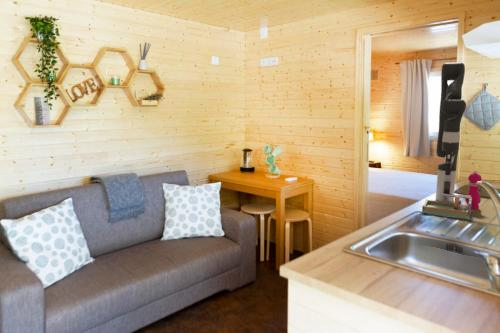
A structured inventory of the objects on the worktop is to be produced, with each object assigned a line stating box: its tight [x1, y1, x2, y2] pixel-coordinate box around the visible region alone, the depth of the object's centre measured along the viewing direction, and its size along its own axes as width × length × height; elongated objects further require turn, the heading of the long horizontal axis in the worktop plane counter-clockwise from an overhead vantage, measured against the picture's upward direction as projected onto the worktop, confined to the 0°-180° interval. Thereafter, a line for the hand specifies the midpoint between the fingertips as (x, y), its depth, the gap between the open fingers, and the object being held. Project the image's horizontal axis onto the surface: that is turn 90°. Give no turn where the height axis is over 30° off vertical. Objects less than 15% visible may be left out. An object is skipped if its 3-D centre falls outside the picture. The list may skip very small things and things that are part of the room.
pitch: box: [421, 197, 472, 220], centre depth 207 cm, size 16×21×8 cm
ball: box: [460, 202, 468, 211], centre depth 203 cm, size 4×4×4 cm
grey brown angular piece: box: [442, 181, 471, 210], centre depth 204 cm, size 6×13×14 cm, turn 61°
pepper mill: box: [464, 170, 482, 211], centre depth 214 cm, size 7×7×20 cm
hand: (448, 173), depth 205 cm, fingers open, 8 cm apart
